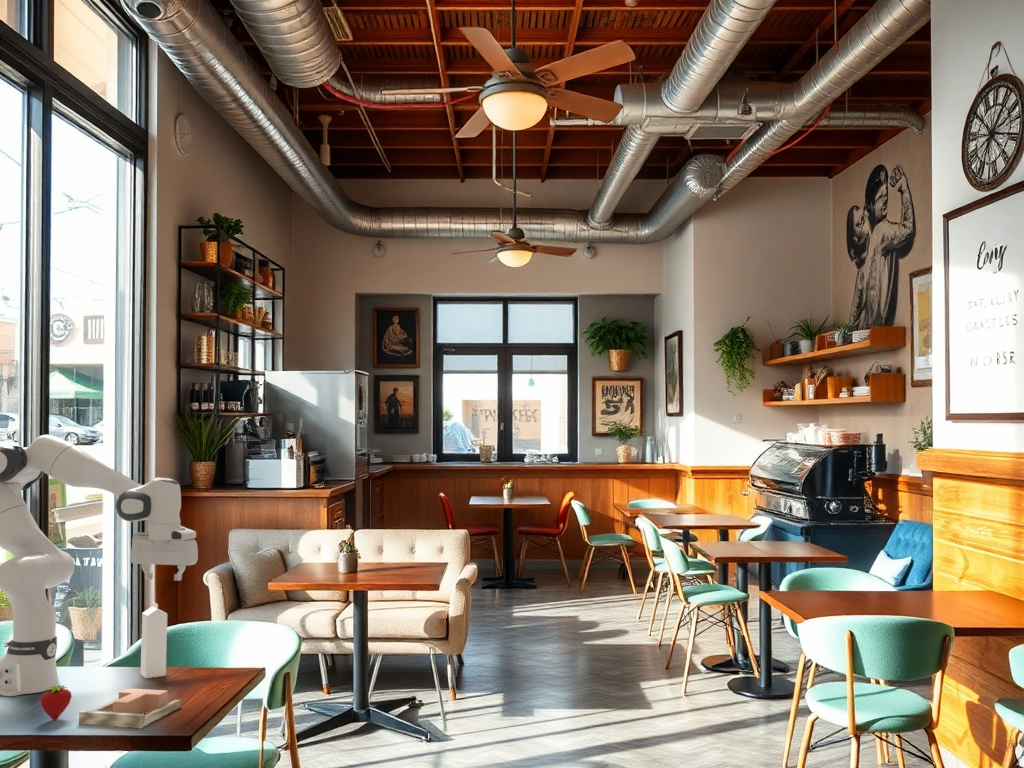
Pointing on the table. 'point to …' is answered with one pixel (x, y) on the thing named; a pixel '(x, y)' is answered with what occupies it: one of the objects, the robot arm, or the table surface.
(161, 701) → the T block
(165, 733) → the table surface
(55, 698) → the strawberry
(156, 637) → the milk
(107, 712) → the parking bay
